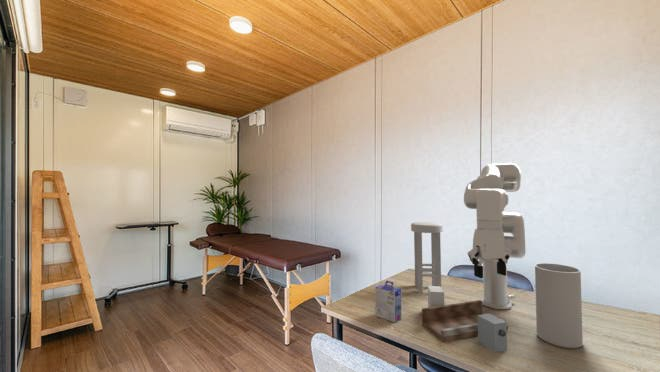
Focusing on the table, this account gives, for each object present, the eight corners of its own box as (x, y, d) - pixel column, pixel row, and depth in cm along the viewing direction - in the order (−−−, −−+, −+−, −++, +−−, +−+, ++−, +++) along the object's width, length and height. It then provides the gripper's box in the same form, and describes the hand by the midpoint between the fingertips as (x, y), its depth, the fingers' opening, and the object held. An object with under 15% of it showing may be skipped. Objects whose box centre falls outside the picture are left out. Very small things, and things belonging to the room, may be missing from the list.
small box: (444, 318, 117) (444, 292, 117) (430, 317, 118) (430, 291, 118) (441, 310, 125) (440, 286, 125) (427, 309, 126) (427, 285, 126)
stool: (410, 284, 160) (409, 221, 161) (439, 285, 158) (438, 222, 159) (414, 293, 145) (413, 225, 146) (446, 295, 143) (445, 225, 143)
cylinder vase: (569, 353, 91) (567, 274, 91) (528, 335, 102) (527, 265, 103) (590, 344, 96) (588, 269, 96) (549, 328, 107) (548, 261, 108)
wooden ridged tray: (480, 315, 119) (479, 300, 119) (507, 330, 106) (507, 312, 106) (422, 325, 111) (421, 308, 111) (444, 342, 98) (444, 323, 98)
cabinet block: (489, 339, 100) (489, 313, 100) (509, 351, 92) (509, 323, 92) (478, 341, 99) (477, 315, 99) (497, 353, 91) (497, 325, 91)
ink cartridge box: (402, 318, 117) (401, 283, 117) (395, 323, 113) (395, 286, 113) (381, 311, 124) (381, 278, 124) (374, 316, 119) (374, 281, 120)
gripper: (499, 223, 103) (500, 270, 103) (460, 225, 98) (461, 275, 98) (518, 225, 96) (520, 276, 95) (477, 227, 91) (478, 281, 90)
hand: (490, 275), depth 96 cm, fingers open, 9 cm apart
